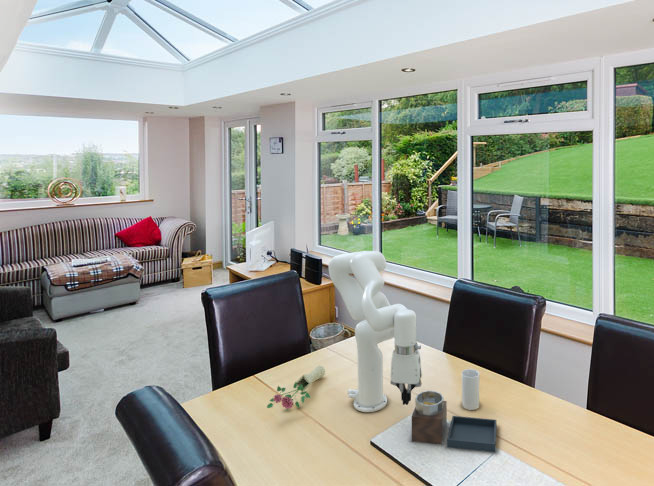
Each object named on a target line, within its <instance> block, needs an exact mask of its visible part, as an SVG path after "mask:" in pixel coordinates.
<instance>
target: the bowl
mask: <svg viewBox="0 0 654 486" xmlns="http://www.w3.org/2000/svg"><path fill="white" fill-rule="evenodd" d="M426 401H427V402H429V403H437V404H433V405H424V404H423V403H424V402H426ZM444 401H445V399H444V396H443V394H442V393H441V392H438V391H436V390H424V391H421V392H419V393H418V394H416V397H415V401H414V403H415V404H414V405H415V406H414V409H415V408H416V411H417V412H418V413H419V414H421V415H423V416H435V415H438V414H440V413H441V412H442V411H443V406H444Z"/></svg>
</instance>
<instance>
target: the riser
mask: <svg viewBox="0 0 654 486" xmlns="http://www.w3.org/2000/svg"><path fill="white" fill-rule="evenodd" d="M447 405H448V402H447V400H444V406H443V411H442V412H441V413H440V414H438V415H435V416H423V415H421V414H419V413H418V412H417V411H416V408H415V407H414V409H413V412H412V415H411V442H413V443H415V442H416V443H423V444H435V445H443V442H444V441H443V440H444V437H445V435H446V428H447V425H448V415H447V413H448V410H447V409H448V408H447V407H448V406H447Z"/></svg>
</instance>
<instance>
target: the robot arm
mask: <svg viewBox="0 0 654 486" xmlns="http://www.w3.org/2000/svg"><path fill="white" fill-rule="evenodd" d="M386 267H387V260H386V256H385V255H384V254H383V253H382V252H380V251H379V250H359V251H354V252H346V253H341V254H337V255H335V256H333V257H332V258H331V259H330V260H329V263H328V274H329V278H330V280H331V282H332V284H333V285H334V287H335V288H336V289H337V291H338V292H339V294H340V296H341V298H342V300H343V303H344V305H345V307H346V310H347V311H348V313H349V315H350V317H351V318H352V319H353V320H354V321H359V322H358V323H357V324H356V326H355V328H354V338H355V343H356V351H357V388H356V389H352V388H348V390H347V396H348V397H347V398H349V399H354V400H353V407H354V409H355V410H356V411H359V412H363V413H374V412H377V411H380V410H382V409H384V408H385V407H386V405H387V404H388V397H387V395H386V394H385V393H384V355H383V351H382V350H381V349H380V348H379V347H378V344H380V343H384V342H385V341H386V342H387V341H389V340H392V339H393V338H394V349H393V351H392V355H391V363H390V385H391V386H395V387H397V389H398V390H399V392H400V394H401V396H400V399H401V401H402V405H404V406H408V405H409V403H410V402H411V400H412V391H413V390H414V389H415V388H420V387H421V386H422V384H423V383H422V376H423V375H422V374H423V373H422V360H421V354H420V351H419V350H421V347H422V345H421V344H418V342H417V314H416V312H415V311H414V310H413V309H408V307H406V306H405V305H404V304H402V303H394V304H391V303H390V301H389V299H388V298H387V296H386V295H385V294H384V293H383V292H382V291H381V290H382V289H383V287H384V286H385V279H384V278H383V275H382V274H381V273H380V272H383V271H384V270H385V269H386ZM352 274H353V276H354V277H355V278H354V277H352V276H351V275H352ZM406 385H407V387H406Z"/></svg>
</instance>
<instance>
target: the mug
mask: <svg viewBox="0 0 654 486" xmlns="http://www.w3.org/2000/svg"><path fill="white" fill-rule="evenodd" d="M461 399H462V400H461V403H462V404H461V405H462V407H463V409H464V410H468V411H475V410H477V409H479V407H480V372H479V370H477V369H474V368H466V369H463V370H462V371H461Z"/></svg>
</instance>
